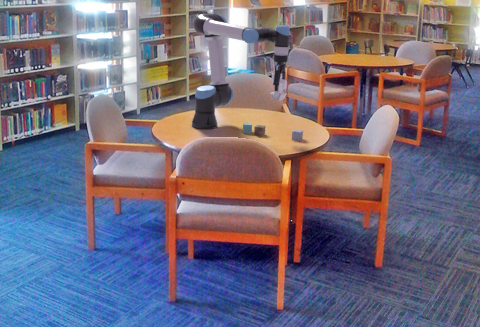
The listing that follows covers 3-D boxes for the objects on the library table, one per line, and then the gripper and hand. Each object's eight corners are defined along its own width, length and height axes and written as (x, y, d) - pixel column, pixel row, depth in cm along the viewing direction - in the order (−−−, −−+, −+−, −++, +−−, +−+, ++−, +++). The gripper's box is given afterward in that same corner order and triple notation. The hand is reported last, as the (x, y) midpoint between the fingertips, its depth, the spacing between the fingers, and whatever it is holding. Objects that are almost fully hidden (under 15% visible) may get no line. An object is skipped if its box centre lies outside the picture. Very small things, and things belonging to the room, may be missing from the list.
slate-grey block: (291, 140, 328) (292, 131, 326) (293, 137, 332) (294, 129, 331) (300, 141, 326) (301, 132, 325) (302, 139, 331) (303, 130, 329)
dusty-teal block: (242, 133, 337) (243, 124, 336) (243, 130, 342) (243, 122, 341) (251, 133, 337) (251, 125, 336) (251, 131, 342) (252, 123, 340)
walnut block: (254, 135, 334) (254, 126, 332) (256, 133, 338) (257, 124, 337) (262, 136, 332) (262, 127, 331) (264, 134, 337) (265, 125, 336)
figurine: (281, 101, 323) (283, 74, 319) (267, 99, 328) (269, 72, 324) (288, 99, 329) (290, 73, 324) (274, 97, 334) (275, 71, 329)
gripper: (282, 57, 310) (279, 99, 317) (292, 53, 330) (289, 93, 336) (269, 55, 312) (266, 97, 319) (279, 52, 332) (276, 91, 338)
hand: (278, 95), depth 328 cm, fingers closed on figurine, 8 cm apart
